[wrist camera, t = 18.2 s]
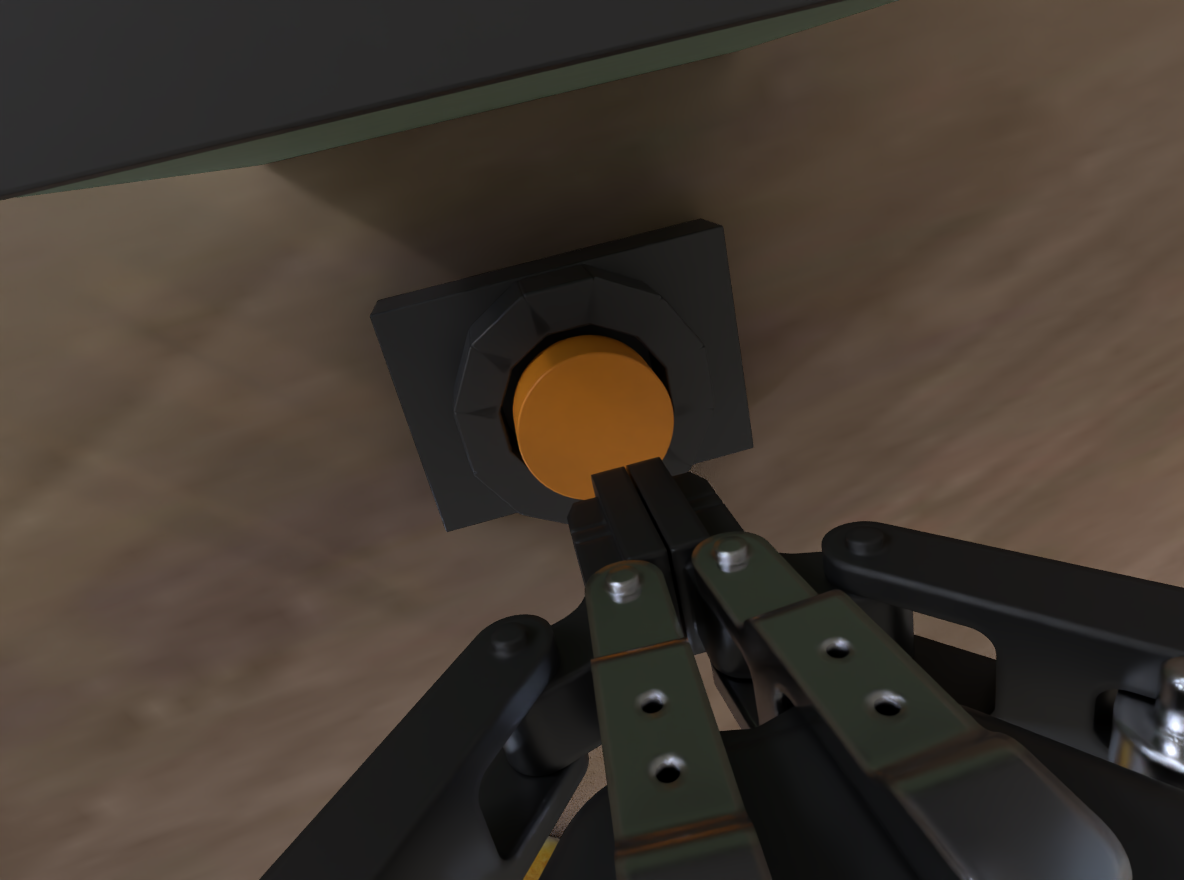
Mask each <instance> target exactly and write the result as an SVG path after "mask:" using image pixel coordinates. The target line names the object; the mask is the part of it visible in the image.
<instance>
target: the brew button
mask: <svg viewBox="0 0 1184 880" xmlns="http://www.w3.org/2000/svg"><path fill="white" fill-rule="evenodd" d="M513 419H514V424H515V430H516V436H517V441H518V446H519V450H520V453H521V456H522V458H523V460H524V462H525V464H526V466H527V467H528V469H529V470H530V472H531V473H532V474H533V475H534V476H535V477H536V478H537V479H538V480H539V481H540V482H541V483H542V484H543V485H545V486H546V487H547V488H549V489H551V490H553V491H554V492H556V493H559V494H561V495H563V496H567V497H570V498H574V499H581V500H587V499H590V498H594V497H595V493H594V489H593V484H592V480H591V475H592V474H596V473H600V472H603V471H607V470H611V469H615V468H618V467H622V466H624V467H625V469H626V465H629V464H633V463H637V462H640V461H644V460H648V459H652V458H655V457H660V458H661V460H663V458H664V457H665V455H666V453H667V451H668V448H669V446H670V443H671V439H672V435H673V429H674V413H673V407H672V403H671V399H670V397H669V394H668V392H667V390H666V388H665V386H664V385H663V383H662V381H661V380H660V379H659V378H658V376H657V375H656V374H655V373H654V372H653V370H652V369H651V368H650V367H649V365H648V364H647V363H646V362H645V361H644V359H643V358H642V357H641V356H640V355H639V354H638V353H637V352H636V351H635V350H633V349H632V348H631V347H629V346H628V345H626V344H624V343H622V342H620V341H618V340H615V339H612V338H610V337H605V336H600V335H579V336H574V337H569V338H566V339H563V340H560V341H558V342H556V343H554V344H552V345H550V346H549V347H547V348H546V349H544V350H543V351H541V352H540V353H539V354H538V355H537V356H535V357H534V359H533V360H532V361H531V362H530V363H529V364H528V365H527V367H526V368H525V370H524V371H523V373H522V375H521V377H520V379H519V381H518V383H517V386H516V389H515V393H514V398H513Z"/></svg>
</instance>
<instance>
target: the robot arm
mask: <svg viewBox="0 0 1184 880" xmlns="http://www.w3.org/2000/svg"><path fill="white" fill-rule="evenodd" d="M591 480H592V484H593V489H594V493H595V497H594V498H590V499H587V500H583V501H579V502H575V503H573V505H572V507H571V509H570V511H569V514H568V516H567V520H568V524H569V528H570V532H571V536H572V540H573V544H574V548H575V551H576V555H577V559H578V563H579V567H580V571H581V575H582V578H583V582H584V586H585V597H584V599H583V601H582V603H581V604H580V605H579V606H578V608H577V609H576V610H575V611H573V612H572V613H571V614H570V615H568V616H567V617H565V618H564V619H562V620H560V621H559V622H557V623H555V624H553V625H550V624H549V623H548V622H547V621H546V620H545V619H543V618H541V617H539V616H535V615H528V614H525V615H514V616H510V617H506V618H503V619H501V620H498V621H496V622H494V623H492V624H491V625H489V626H488V627H486V628H485V629H484V630H482V631H481V632H480V633H479V634H478V635H477V636H476V637H475V638H474V640H473V641H472V642H471V643H470V644H469V645H468V646H467V647H466V649H465V650H464V651H463V652H462V653H461V654H460V655H459V656H458V658H457V659H456V660H455V661H454V662H453V663H452V664H451V665H450V666H449V668H448V669H447V670H446V671H445V672H444V673H443V674H442V675H441V677H440V678H439V679H438V680H437V681H436V682H435V683H434V684H433V686H432V687H431V688H430V689H429V690H428V691H427V692H426V693H425V694H424V696H423V697H422V698H421V699H420V700H419V701H418V702H417V703H416V705H415V706H414V707H413V708H412V709H411V710H410V711H409V712H408V714H407V715H406V716H405V717H404V718H403V719H402V720H401V721H400V722H399V724H398V725H397V726H396V727H395V728H394V729H393V730H392V731H391V733H390V734H389V735H388V736H387V737H386V738H385V739H384V740H383V742H382V743H381V744H380V745H379V746H378V747H377V748H376V749H375V750H374V752H373V753H372V754H371V755H370V756H369V757H368V758H367V759H366V761H365V762H364V763H363V764H362V765H361V766H360V767H359V768H358V770H357V771H356V772H355V773H354V774H353V775H352V776H351V777H350V778H349V780H348V781H347V782H346V783H345V784H344V785H343V786H342V787H341V789H340V790H339V791H338V792H337V793H336V794H335V795H334V796H333V798H332V799H331V800H330V801H329V802H328V803H327V804H326V805H325V806H324V808H323V809H322V810H321V811H320V812H319V813H318V814H317V815H316V817H315V818H314V819H313V820H312V821H311V822H310V823H309V824H308V826H307V827H306V828H305V829H304V830H303V831H302V832H301V833H300V834H299V836H298V837H297V838H296V839H295V840H294V841H293V842H292V843H291V845H290V846H289V847H288V848H287V849H286V850H285V851H284V852H283V854H282V855H281V856H280V857H279V858H278V859H277V860H276V861H275V862H274V864H273V865H272V866H271V867H270V868H269V869H268V870H267V871H266V873H265V874H264V875H263V876H262V877H261V878H260V879H259V880H523V879H524V877H525V875H526V874H527V872H528V870H529V868H530V867H531V865H532V863H533V862H534V860H535V858H536V857H537V855H538V853H539V851H540V850H541V848H542V846H543V845H544V843H545V841H546V840H547V838H548V836H549V834H550V833H551V831H552V829H553V828H554V826H555V824H556V823H557V821H558V819H559V817H560V816H561V814H562V812H563V811H564V809H565V807H566V806H567V804H568V802H569V800H570V799H571V797H572V795H573V794H574V792H575V790H576V789H577V787H578V785H579V783H580V782H581V780H582V778H583V777H584V775H585V773H586V771H587V768H588V764H589V756H588V753H589V752H590V751H592V750H594V749H595V748H597V747H598V746H600V745H602V750H603V758H604V765H605V773H606V780H607V786H605V787H604V788H602V789H601V790H600V791H598V792H597V793H596V794H595V795H594V796H593V797H592V798H591V799H590V800H588V801H587V802H586V803H585V805H584V806H583V807H582V808H581V809H580V810H579V811H578V812H577V814H576V815H575V816H574V818H573V819H572V820H571V822H570V823H569V825H568V826H567V827H566V829H565V831H564V833H563V834H562V836H561V838H560V840H559V842H558V844H557V845H556V847H555V849H554V851H553V853H552V855H551V857H550V859H549V860H548V862H547V864H546V866H545V868H544V870H543V872H542V874H541V876H540V877H539V879H538V880H1184V588H1182V587H1177V586H1173V585H1168V584H1163V583H1159V582H1154V581H1149V580H1145V579H1140V578H1136V577H1131V576H1126V575H1122V574H1117V573H1112V572H1108V571H1103V570H1098V569H1094V568H1089V567H1084V566H1080V565H1075V564H1070V563H1066V562H1061V561H1056V560H1052V559H1047V558H1042V557H1038V556H1033V555H1028V554H1024V553H1019V552H1014V551H1010V550H1005V549H1001V548H996V547H991V546H987V545H982V544H977V543H973V542H968V541H963V540H959V539H954V538H949V537H945V536H940V535H935V534H931V533H926V532H921V531H917V530H912V529H907V528H903V527H898V526H893V525H889V524H884V523H879V522H870V521H860V522H852V523H847V524H843V525H840V526H838V527H836V528H834V529H832V530H831V531H829V532H828V533H827V534H826V535H825V536H824V538H823V540H822V552H812V553H797V554H788V553H778V552H777V551H776V549H775V548H774V547H773V546H772V545H771V544H770V543H769V542H768V541H767V540H765V539H764V538H763V537H761V536H759V535H756V534H753V533H749V532H744V530H743V529H742V528H741V526H740V525H739V524H738V522H737V521H736V519H735V518H734V517H733V515H732V514H731V513H730V511H729V510H728V509H727V507H726V506H725V504H723V503H722V500H721V499H720V498H719V496H718V495H717V494H716V493H715V491H714V489H713V488H712V487H711V485H710V484H709V483H708V481H707V480H706V479H704V478H702V477H699V476H697V475H695V474H693V473H691V472H686V473H683V474H679V475H675V476H672V475H671V474H670V472H669V471H668V469H667V468H666V466H665V464H664V463H663V461H662V460H661V458H660V457H655V458H652V459H648V460H644V461H640V462H637V463H633V464H629V465H626V469H625V467H624V466H622V467H618V468H615V469H611V470H607V471H603V472H600V473H596V474H592V475H591ZM913 611H915V612H918V613H922V614H925V615H928V616H932V617H935V618H939V619H942V620H946V621H949V622H953V623H956V624H960V625H963V626H967V627H970V628H973V629H975V630H977V631H979V632H981V633H982V634H984V635H985V636H986V637H987V638H988V639H989V640H990V641H991V642H992V644H993V645H994V647H995V650H996V660H995V659H992V658H988V657H985V656H982V655H979V654H975V653H972V652H969V651H966V650H963V649H959V648H956V647H953V646H950V645H946V644H943V643H940V642H937V641H934V640H930V639H927V638H924V637H921V636H917V635H914V630H913ZM703 652H707V654H708V656H709V658H710V662H711V667H712V673H713V678H714V683H715V685H716V687H717V689H718V691H719V692H720V694H721V696H722V697H723V699H724V701H725V703H726V704H727V706H728V708H729V709H730V711H731V713H732V714H733V716H734V718H735V719H736V721H737V723H738V724H739V726H740V728H741V730H729V731H719V729H718V726H717V723H716V720H715V717H714V714H713V711H712V708H711V705H710V702H709V699H708V696H707V693H706V690H705V687H704V684H703V681H702V678H701V675H700V672H699V669H698V666H697V663H696V660H695V657H694V655H696V654H700V653H703Z"/></svg>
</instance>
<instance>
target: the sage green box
mask: <svg viewBox="0 0 1184 880" xmlns="http://www.w3.org/2000/svg"><path fill="white" fill-rule="evenodd" d="M895 1H898V0H846V1H842V2H838V3H834V4H829V5H825V6H821V7H817V8H813V9H808V10H804V11H800V12H796V13H791V14H787V15H783V16H779V17H774V18H770V19H766V20H762V21H758V22H753V23H749V24H745V25H741V26H736V27H732V28H728V29H724V30H719V31H715V32H711V33H707V34H703V35H698V36H694V37H690V38H686V39H681V40H677V41H673V42H669V43H665V44H660V45H656V46H652V47H648V48H643V49H639V50H635V51H631V52H626V53H622V54H618V55H614V56H610V57H605V58H601V59H597V60H593V61H588V62H584V63H580V64H576V65H572V66H567V67H563V68H559V69H555V70H550V71H546V72H542V73H538V74H533V75H529V76H525V77H521V78H517V79H512V80H508V81H504V82H500V83H495V84H491V85H487V86H483V87H479V88H474V89H470V90H466V91H462V92H457V93H453V94H449V95H445V96H440V97H436V98H432V99H428V100H424V101H419V102H415V103H411V104H407V105H402V106H398V107H394V108H390V109H385V110H381V111H377V112H373V113H369V114H364V115H360V116H356V117H352V118H347V119H343V120H339V121H335V122H331V123H326V124H322V125H318V126H314V127H309V128H305V129H301V130H297V131H292V132H288V133H284V134H280V135H276V136H271V137H267V138H263V139H259V140H254V141H250V142H246V143H242V144H238V145H233V146H229V147H225V148H221V149H216V150H212V151H208V152H204V153H199V154H195V155H191V156H187V157H183V158H178V159H174V160H170V161H166V162H161V163H157V164H153V165H149V166H145V167H140V168H136V169H132V170H128V171H123V172H119V173H115V174H111V175H106V176H102V177H98V178H94V179H90V180H85V181H81V182H77V183H73V184H68V185H64V186H60V187H56V188H51V189H47V190H43V191H39V192H35V193H30V194H26V195H22V196H18V197H25V196H33V195H40V194H48V193H55V192H63V191H70V190H78V189H85V188H93V187H100V186H108V185H115V184H123V183H130V182H138V181H145V180H152V179H160V178H167V177H175V176H182V175H190V174H197V173H205V172H212V171H220V170H227V169H235V168H242V167H250V166H257V165H263V164H267V163H272V162H276V161H280V160H284V159H288V158H292V157H297V156H301V155H305V154H309V153H313V152H318V151H322V150H326V149H330V148H334V147H338V146H343V145H347V144H351V143H355V142H359V141H364V140H368V139H372V138H376V137H380V136H385V135H389V134H393V133H397V132H401V131H405V130H410V129H414V128H418V127H422V126H426V125H431V124H435V123H439V122H443V121H447V120H451V119H456V118H460V117H464V116H468V115H472V114H477V113H481V112H485V111H489V110H493V109H497V108H502V107H506V106H510V105H514V104H518V103H523V102H527V101H531V100H535V99H539V98H543V97H548V96H552V95H556V94H560V93H564V92H569V91H573V90H577V89H581V88H585V87H589V86H594V85H598V84H602V83H606V82H610V81H615V80H619V79H623V78H627V77H631V76H636V75H640V74H644V73H648V72H652V71H656V70H661V69H665V68H669V67H673V66H677V65H682V64H686V63H690V62H694V61H698V60H702V59H707V58H711V57H715V56H719V55H723V54H728V53H732V52H736V51H740V50H743V49H746V48H749V47H752V46H756V45H759V44H762V43H765V42H768V41H771V40H774V39H778V38H781V37H784V36H787V35H790V34H793V33H797V32H800V31H803V30H806V29H809V28H812V27H816V26H819V25H822V24H825V23H828V22H831V21H835V20H838V19H841V18H844V17H847V16H850V15H854V14H857V13H860V12H863V11H866V10H869V9H873V8H876V7H879V6H882V5H885V4H888V3H891V2H895ZM18 197H17V198H18Z"/></svg>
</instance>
